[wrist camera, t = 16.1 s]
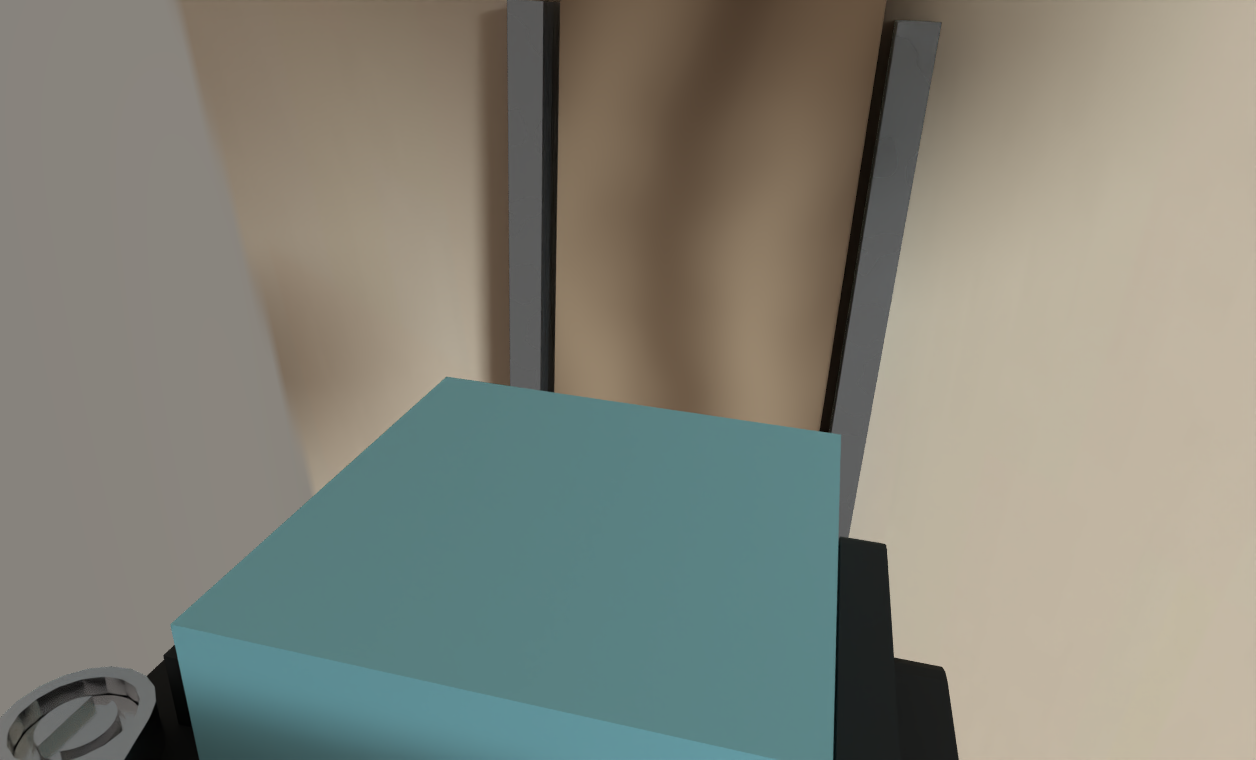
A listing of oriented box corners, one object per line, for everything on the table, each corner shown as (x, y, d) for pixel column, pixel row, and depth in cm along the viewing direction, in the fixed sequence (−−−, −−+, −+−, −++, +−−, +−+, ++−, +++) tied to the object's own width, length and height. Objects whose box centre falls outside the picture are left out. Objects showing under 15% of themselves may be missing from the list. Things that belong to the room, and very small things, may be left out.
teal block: (841, 434, 10) (833, 773, 6) (789, 748, 12) (752, 1179, 8) (446, 376, 11) (169, 624, 7) (459, 676, 13) (255, 1019, 9)
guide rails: (935, 22, 26) (941, 22, 24) (800, 777, 39) (798, 813, 37) (528, 0, 29) (507, -1, 27) (527, 716, 42) (513, 747, 40)
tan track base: (946, -396, 22) (986, -564, 16) (798, 558, 34) (787, 682, 28) (578, -382, 24) (480, -528, 18) (561, 516, 36) (499, 624, 30)
